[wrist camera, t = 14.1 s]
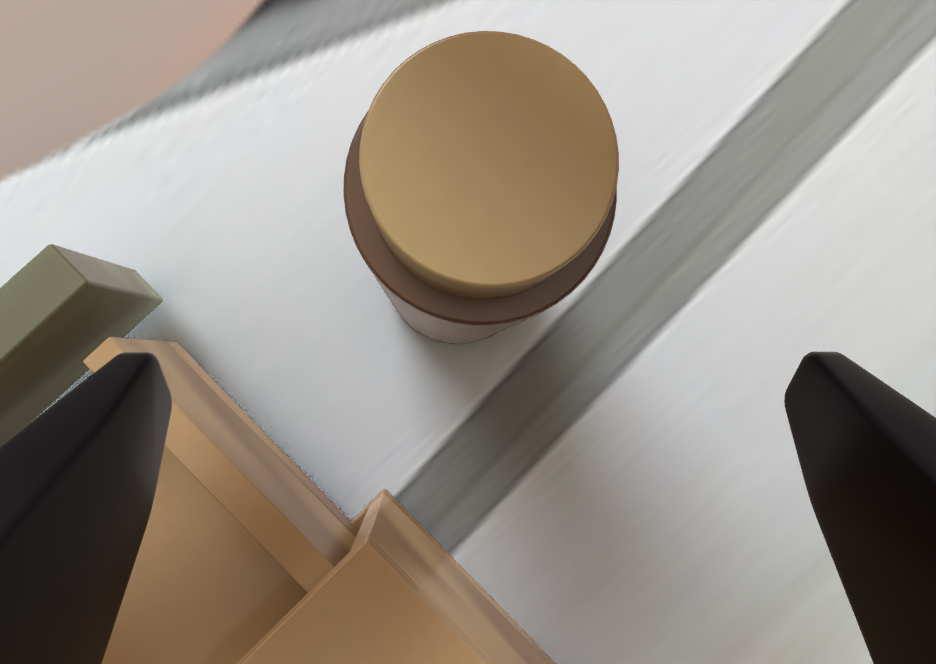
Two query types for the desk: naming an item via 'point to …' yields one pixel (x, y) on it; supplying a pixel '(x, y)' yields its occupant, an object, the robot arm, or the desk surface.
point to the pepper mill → (482, 183)
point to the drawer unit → (396, 606)
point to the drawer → (174, 472)
